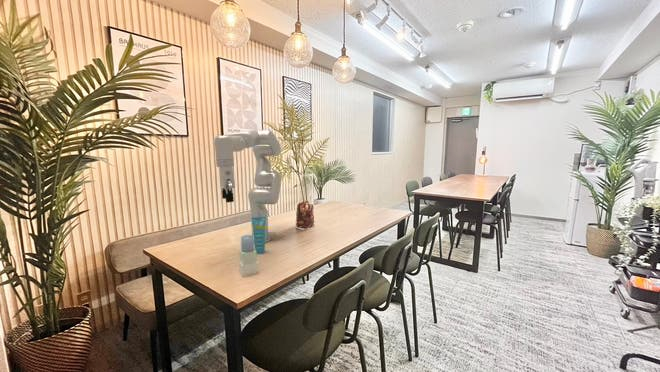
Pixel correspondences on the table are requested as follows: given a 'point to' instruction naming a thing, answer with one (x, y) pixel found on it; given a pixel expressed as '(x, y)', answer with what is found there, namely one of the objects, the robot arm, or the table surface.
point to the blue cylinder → (247, 243)
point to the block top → (248, 257)
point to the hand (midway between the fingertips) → (227, 200)
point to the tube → (259, 233)
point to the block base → (248, 268)
